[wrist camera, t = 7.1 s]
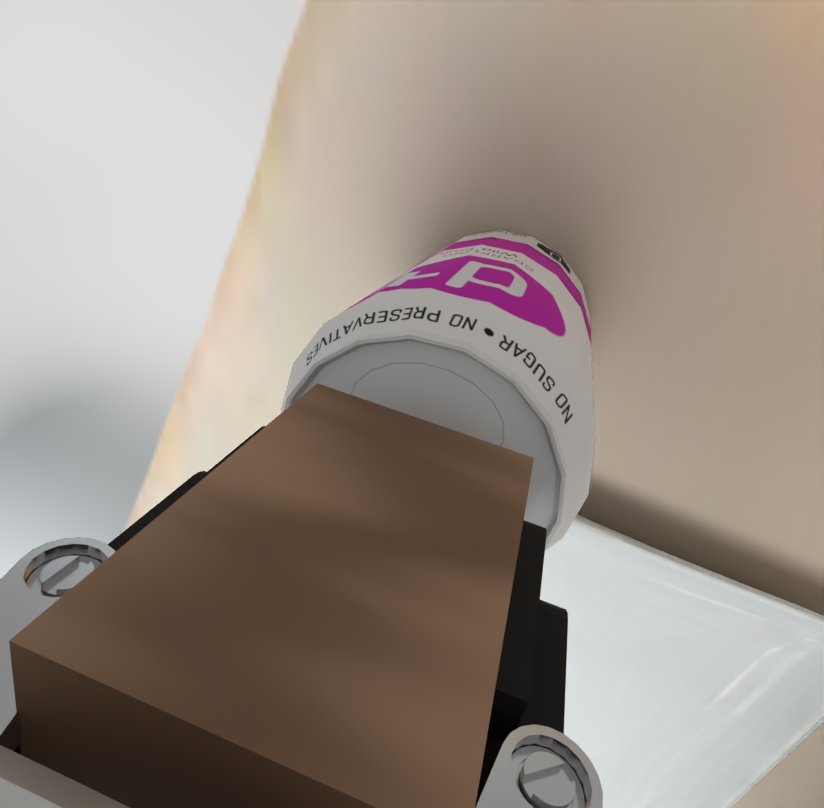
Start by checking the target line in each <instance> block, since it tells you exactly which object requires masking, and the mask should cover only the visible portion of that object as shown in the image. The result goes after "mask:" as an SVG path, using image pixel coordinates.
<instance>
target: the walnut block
mask: <svg viewBox="0 0 824 808" xmlns="http://www.w3.org/2000/svg"><path fill="white" fill-rule="evenodd" d="M533 461H534V458H533V457H530V456H527V455H524V454H521V453H518V452H515V451H512V450H509V449H507V448H504V447H501V446H498V445H495V444H492V443H489V442H486V441H483V440H480V439H478V438H475V437H472V436H469V435H466V434H463V433H460V432H457V431H454V430H452V429H449V428H446V427H443V426H440V425H437V424H434V423H431V422H428V421H425V420H423V419H420V418H417V417H414V416H411V415H408V414H405V413H402V412H399V411H397V410H394V409H391V408H388V407H385V406H382V405H379V404H376V403H373V402H370V401H368V400H365V399H362V398H359V397H356V396H353V395H350V394H347V393H344V392H341V391H339V390H336V389H333V388H330V387H327V386H324V385H321V384H318V383H317V384H316V385H315V386H314V387H312V388H311V389H310V390H309V391H308V392H306V393H305V394H304V395H303V396H302V397H300V398H299V399H298V400H297V401H296V402H294V403H293V404H292V405H291V406H290V407H288V408H287V409H286V410H285V411H284V412H282V413H281V414H280V415H279V416H278V417H276V418H275V419H274V420H273V421H272V422H270V423H269V424H268V425H267V426H266V427H264V428H263V429H262V430H261V431H260V432H258V433H257V434H256V435H255V436H254V437H252V438H251V439H250V440H249V441H248V442H246V443H245V444H244V445H243V446H242V447H240V448H239V449H238V450H237V451H236V452H235V453H233V454H232V455H231V456H230V457H229V458H227V459H226V460H225V461H224V462H223V463H221V464H220V465H219V466H218V467H217V468H215V469H214V470H213V471H212V472H211V473H209V474H208V475H207V476H206V477H205V478H203V479H202V480H201V481H200V482H199V483H197V484H196V485H195V486H194V487H193V488H191V489H190V490H189V491H188V492H187V493H185V494H184V495H183V496H182V497H181V498H179V499H178V500H177V501H176V502H175V503H173V504H172V505H171V506H170V507H169V508H167V509H166V510H165V511H164V512H163V513H161V514H160V515H159V516H158V517H157V518H155V519H154V520H153V521H152V522H151V523H149V524H148V525H147V526H146V527H145V528H143V529H142V530H141V531H140V532H139V533H137V534H136V535H135V536H134V537H133V538H131V539H130V540H129V541H128V542H127V543H125V544H124V545H123V546H122V547H121V548H120V549H118V550H117V551H116V552H115V553H114V554H112V555H111V556H110V557H109V558H108V559H106V560H105V561H104V562H103V563H102V564H100V565H99V566H98V567H97V568H96V569H94V570H93V571H92V572H91V573H90V574H88V575H87V576H86V577H85V578H84V579H82V580H81V581H80V582H79V583H78V584H76V585H75V586H74V587H73V588H72V589H70V590H69V591H68V592H67V593H66V594H64V595H63V596H62V597H61V598H60V599H58V600H57V601H56V602H55V603H54V604H52V605H51V606H50V607H49V608H48V609H46V610H45V611H44V612H43V613H42V614H40V615H39V616H38V617H37V618H36V619H34V620H33V621H32V622H31V623H30V624H28V625H27V626H26V627H25V628H24V629H22V630H21V631H20V632H19V633H18V634H16V635H15V636H14V637H13V638H12V639H10V640H9V646H10V655H11V665H12V674H13V683H14V693H15V702H16V709H18V710H19V715H20V725H21V735H22V741H21V743H20V749H21V755H22V756H24V757H26V758H28V759H30V760H32V761H35V762H37V763H39V764H41V765H43V766H45V767H47V768H49V769H51V770H53V771H55V772H57V773H60V774H62V775H64V776H66V777H68V778H70V779H72V780H74V781H76V782H78V783H80V784H82V785H84V786H86V787H89V788H91V789H93V790H95V791H97V792H99V793H101V794H103V795H105V796H107V797H109V798H111V799H113V800H115V801H117V802H119V803H121V804H124V805H126V806H128V807H130V808H475V805H476V799H477V793H478V787H479V781H480V775H481V769H482V763H483V757H484V751H485V745H486V739H487V734H488V728H489V722H490V716H491V710H492V704H493V698H494V692H495V686H496V680H497V674H498V668H499V663H500V657H501V651H502V645H503V639H504V633H505V627H506V621H507V615H508V609H509V603H510V597H511V591H512V586H513V580H514V574H515V568H516V562H517V556H518V550H519V544H520V538H521V532H522V526H523V520H524V515H525V509H526V503H527V497H528V491H529V485H530V479H531V473H532V467H533Z"/></svg>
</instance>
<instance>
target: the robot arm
mask: <svg viewBox="0 0 824 808" xmlns="http://www.w3.org/2000/svg"><path fill="white" fill-rule="evenodd" d="M264 427H266V426H263V427H261V428H260V429H259V430H257V431H256V432H255V433H254V434H253V435H251V436H250V437H249V438H248V439H246V440H245V441H244V442H243V443H242V444H240V445H239V446H238V447H237V448H236V449H234V450H233V451H232V452H231V453H230V454H228V455H227V456H226V457H225V458H224V459H222V460H221V461H220V462H219V463H218V464H216V465H215V466H214V467H213V468H211V469H210V470H209V471H208V472H205V471H202V472H198V473H197V474H195V475H193V476H192V477H191V478H190V479H188V480H187V481H186V482H185V483H183V484H182V485H181V486H180V487H179V488H177V489H176V490H175V491H174V492H172V493H171V494H170V495H169V496H167V497H166V498H165V499H164V500H162V501H161V502H160V503H159V504H157V505H156V506H155V507H154V508H153V509H151V510H150V511H149V512H148V513H146V514H145V515H144V516H143V517H141V518H140V519H139V520H138V521H136V522H135V523H134V524H133V525H131V526H130V527H129V528H128V529H127V530H125V531H124V532H123V533H122V534H120V535H119V536H118V537H117V538H115V539H114V540H113V541H112V542H110V543H109V544H108V545H107V544H105V543H103V542H100V541H98V540H95V539H89V538H80V537H78V538H65V539H60V540H56V541H52V542H49V543H46V544H43V545H41V546H39V547H37V548H35V549H33V550H32V551H30V552H29V553H28V554H26V555H25V556H24V557H23V558H22V559H20V560H19V561H18V562H17V563H16V564H15V565H14V566H13V567H12V568H11V569H10V570H9V571H8V572H7V574H6V575H5V576H4V577H3V578H2V579H0V808H130V807H128V806H126V805H124V804H121V803H119V802H117V801H115V800H113V799H111V798H109V797H107V796H105V795H103V794H101V793H99V792H97V791H95V790H93V789H91V788H89V787H86V786H84V785H82V784H80V783H78V782H76V781H74V780H72V779H70V778H68V777H66V776H64V775H62V774H60V773H57V772H55V771H53V770H51V769H49V768H47V767H45V766H43V765H41V764H39V763H37V762H35V761H32V760H30V759H28V758H26V757H24V756H22V755H21V749H20V743H21V741H22V735H21V725H20V715H19V710H18V709H16V702H15V693H14V683H13V674H12V665H11V655H10V646H9V640H10V639H12V638H13V637H14V636H15V635H16V634H18V633H19V632H20V631H21V630H22V629H24V628H25V627H26V626H27V625H28V624H30V623H31V622H32V621H33V620H34V619H36V618H37V617H38V616H39V615H40V614H42V613H43V612H44V611H45V610H46V609H48V608H49V607H50V606H51V605H52V604H54V603H55V602H56V601H57V600H58V599H60V598H61V597H62V596H63V595H64V594H66V593H67V592H68V591H69V590H70V589H72V588H73V587H74V586H75V585H76V584H78V583H79V582H80V581H81V580H82V579H84V578H85V577H86V576H87V575H88V574H90V573H91V572H92V571H93V570H94V569H96V568H97V567H98V566H99V565H100V564H102V563H103V562H104V561H105V560H106V559H108V558H109V557H110V556H111V555H112V554H114V553H115V552H116V551H117V550H118V549H120V548H121V547H122V546H123V545H124V544H125V543H127V542H128V541H129V540H130V539H131V538H133V537H134V536H135V535H136V534H137V533H139V532H140V531H141V530H142V529H143V528H145V527H146V526H147V525H148V524H149V523H151V522H152V521H153V520H154V519H155V518H157V517H158V516H159V515H160V514H161V513H163V512H164V511H165V510H166V509H167V508H169V507H170V506H171V505H172V504H173V503H175V502H176V501H177V500H178V499H179V498H181V497H182V496H183V495H184V494H185V493H187V492H188V491H189V490H190V489H191V488H193V487H194V486H195V485H196V484H197V483H199V482H200V481H201V480H202V479H203V478H205V477H206V476H207V475H208V474H209V473H211V472H212V471H213V470H214V469H215V468H217V467H218V466H219V465H220V464H221V463H223V462H224V461H225V460H226V459H227V458H229V457H230V456H231V455H232V454H233V453H235V452H236V451H237V450H238V449H239V448H240V447H242V446H243V445H244V444H245V443H246V442H248V441H249V440H250V439H251V438H252V437H254V436H255V435H256V434H257V433H258V432H260V431H261V430H262V429H263V428H264ZM546 535H547V529H546V528H544V527H541V526H539V525H536V524H533V523H530V522H528V521H525V520H523V526H522V532H521V538H520V544H519V550H518V556H517V562H516V568H515V574H514V580H513V586H512V591H511V597H510V603H509V609H508V615H507V621H506V627H505V633H504V639H503V645H502V651H501V657H500V663H499V668H498V674H497V680H496V686H495V692H494V698H493V704H492V710H491V716H490V722H489V728H488V734H487V739H486V745H485V751H484V757H483V763H482V769H481V775H480V781H479V787H478V793H477V799H476V805H475V808H603V790H602V787H601V783H600V779H599V775H598V773H597V771H596V770H595V768H594V766H593V764H592V762H591V760H590V759H589V757H588V756H587V755H586V754H585V753H584V751H583V750H582V749H581V748H580V747H579V746H578V745H577V744H576V743H575V742H574V741H572V740H571V739H570V738H568V737H567V736H566V735H565V734H564V714H565V688H566V661H567V634H568V612H567V610H566V609H563V608H561V607H558V606H556V605H553V604H550V603H548V602H545V601H543V600H540V593H541V583H542V573H543V564H544V554H545V544H546Z"/></svg>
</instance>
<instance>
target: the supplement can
mask: <svg viewBox="0 0 824 808" xmlns="http://www.w3.org/2000/svg"><path fill="white" fill-rule="evenodd" d="M317 383H318V384H321V385H324V386H327V387H330V388H333V389H336V390H339V391H341V392H344V393H347V394H350V395H353V396H356V397H359V398H362V399H365V400H368V401H370V402H373V403H376V404H379V405H382V406H385V407H388V408H391V409H394V410H397V411H399V412H402V413H405V414H408V415H411V416H414V417H417V418H420V419H423V420H425V421H428V422H431V423H434V424H437V425H440V426H443V427H446V428H449V429H452V430H454V431H457V432H460V433H463V434H466V435H469V436H472V437H475V438H478V439H480V440H483V441H486V442H489V443H492V444H495V445H498V446H501V447H504V448H507V449H509V450H512V451H515V452H518V453H521V454H524V455H527V456H530V457H533V458H534V461H533V467H532V473H531V479H530V485H529V491H528V497H527V503H526V509H525V515H524V520H525V521H528V522H530V523H533V524H536V525H539V526H541V527H544V528H546V529H547V535H546V544H545V551H546V550H547V549H549V548H550V547H551V546H553V545H554V544H555V543H557V542H558V541H559V540H561V539H562V538H563V537H564V535H565V533H566V532H567V530H568V529H569V527H570V525H571V524H572V522H573V520H574V519H575V517H576V515H577V514H578V512H579V510H580V509H581V507H582V505H583V504H584V502H585V500H586V499H587V497H588V495H589V487H590V479H591V472H592V464H593V456H594V448H595V427H594V402H593V378H592V353H591V329H590V313H589V309H588V305H587V301H586V298H585V294H584V290H583V286H582V283H581V281H580V280H579V278H578V277H577V276H576V274H575V273H574V272H573V270H572V269H571V267H570V266H569V265H568V263H567V262H566V261H565V259H564V258H563V257H562V255H560V254H559V253H557V252H556V251H554V250H553V249H551V248H549V247H548V246H546V245H545V244H543V243H542V242H540V241H538V240H537V239H535V238H534V237H531V236H526V235H521V234H516V233H512V232H507V231H502V230H496V231H490V232H484V233H478V234H471V235H466V236H464V237H463V238H461V239H459V240H457V241H456V242H454V243H452V244H450V245H449V246H447V247H445V248H443V249H442V250H440V251H438V252H437V253H435V254H433V255H432V256H430V257H429V258H427V259H426V260H424V261H422V262H421V263H419V264H418V265H416V266H415V267H413V268H411V269H410V270H408V271H407V272H405V273H404V274H402V275H400V276H399V277H397V278H396V279H394V280H392V281H391V282H389V283H388V284H386V285H385V286H383V287H381V288H380V289H378V290H377V291H375V292H374V293H372V294H370V295H369V296H367V297H366V298H364V299H363V300H361V301H359V302H358V303H356V304H355V305H353V306H351V307H350V308H348V309H347V310H345V311H344V312H342V313H340V314H339V315H337V316H336V317H334V318H333V319H331V320H329V321H328V322H326V323H325V324H323V326H322V327H321V328H320V329H319V331H318V332H317V333H316V335H315V336H314V337H313V339H312V340H311V341H310V342H309V344H308V345H307V346H306V348H305V349H304V350H303V352H302V353H301V354H300V355H299V357H298V358H297V359H296V361H295V362H294V363H293V367H292V371H291V374H290V378H289V382H288V386H287V389H286V393H285V397H284V401H283V404H282V408H281V413H282V412H284V411H285V410H286V409H287V408H288V407H290V406H291V405H292V404H293V403H294V402H296V401H297V400H298V399H299V398H300V397H302V396H303V395H304V394H305V393H306V392H308V391H309V390H310V389H311V388H312V387H314V386H315V385H316V384H317Z"/></svg>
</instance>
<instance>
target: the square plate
mask: <svg viewBox="0 0 824 808" xmlns="http://www.w3.org/2000/svg"><path fill="white" fill-rule="evenodd" d="M540 600H543V601H545V602H548V603H550V604H553V605H556V606H558V607H561V608H563V609H566V610H567V612H568V634H567V661H566V688H565V714H564V734H565V735H566V736H567V737H568V738H570V739H571V740H572V741H574V742H575V743H576V744H577V745H578V746H579V747H580V748H581V749H582V750H583V751H584V753H585V754H586V755H587V756H588V757H589V759H590V760H591V762H592V764H593V766H594V768H595V770H596V771H597V773H598V775H599V779H600V783H601V787H602V790H603V808H731V807H732V806H733V805H734V804H735V803H736V802H737V801H738V800H740V799H741V798H742V797H743V796H744V795H745V794H746V793H747V792H748V791H749V790H750V789H751V788H752V787H753V786H754V785H756V784H757V783H758V782H759V781H760V780H761V779H762V778H763V777H764V776H765V775H766V774H767V773H768V772H769V771H771V770H772V769H773V768H774V767H775V766H776V765H777V764H778V763H779V762H780V761H781V760H783V759H784V758H785V757H786V756H787V755H788V754H789V753H790V752H791V751H793V750H794V749H795V748H796V747H797V746H798V745H799V744H800V743H801V742H802V741H803V740H805V739H806V738H807V737H808V736H809V735H810V734H811V733H812V732H813V731H814V730H815V729H816V728H817V727H818V726H819V725H820V724H821V723H822V722H823V721H824V615H822V614H819V613H816V612H814V611H811V610H809V609H807V608H804V607H802V606H800V605H797V604H795V603H792V602H789V601H786V600H784V599H781V598H779V597H776V596H774V595H771V594H769V593H766V592H764V591H761V590H758V589H756V588H753V587H751V586H748V585H746V584H743V583H741V582H738V581H736V580H733V579H731V578H728V577H726V576H723V575H720V574H718V573H715V572H713V571H710V570H708V569H705V568H703V567H700V566H698V565H695V564H693V563H690V562H688V561H685V560H683V559H681V558H678V557H676V556H673V555H671V554H668V553H666V552H664V551H661V550H659V549H656V548H654V547H651V546H649V545H647V544H644V543H642V542H640V541H637V540H635V539H633V538H630V537H628V536H625V535H623V534H621V533H618V532H616V531H614V530H611V529H609V528H607V527H604V526H602V525H600V524H598V523H595V522H593V521H591V520H589V519H587V518H584V517H582V516H580V515H578V514H577V515H576V517H575V519H574V520H573V522H572V524H571V525H570V527H569V529H568V530H567V532H566V533H565V535H564V537H563V538H562V539H561V540H559V541H558V542H557V543H555V544H554V545H553V546H551V547H550V548H549V549H547V550H546V551H545V554H544V564H543V573H542V583H541V593H540Z"/></svg>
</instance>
